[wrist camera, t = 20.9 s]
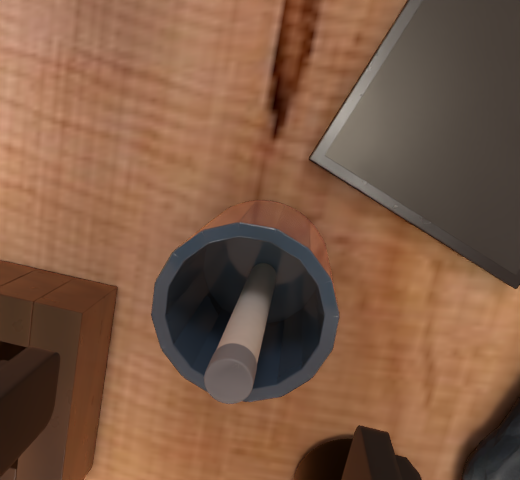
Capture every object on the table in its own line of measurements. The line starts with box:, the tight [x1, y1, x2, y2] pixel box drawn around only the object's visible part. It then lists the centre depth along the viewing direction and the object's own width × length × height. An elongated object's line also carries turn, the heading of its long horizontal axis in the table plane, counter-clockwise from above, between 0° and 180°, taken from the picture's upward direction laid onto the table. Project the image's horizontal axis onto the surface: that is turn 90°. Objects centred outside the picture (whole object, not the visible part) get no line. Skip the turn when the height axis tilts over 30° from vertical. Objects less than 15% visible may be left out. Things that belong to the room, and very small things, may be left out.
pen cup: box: [151, 200, 340, 402], centre depth 23 cm, size 8×8×8 cm
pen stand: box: [0, 260, 117, 480], centre depth 27 cm, size 8×13×4 cm, turn 169°
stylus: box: [204, 263, 276, 404], centre depth 20 cm, size 2×2×12 cm
